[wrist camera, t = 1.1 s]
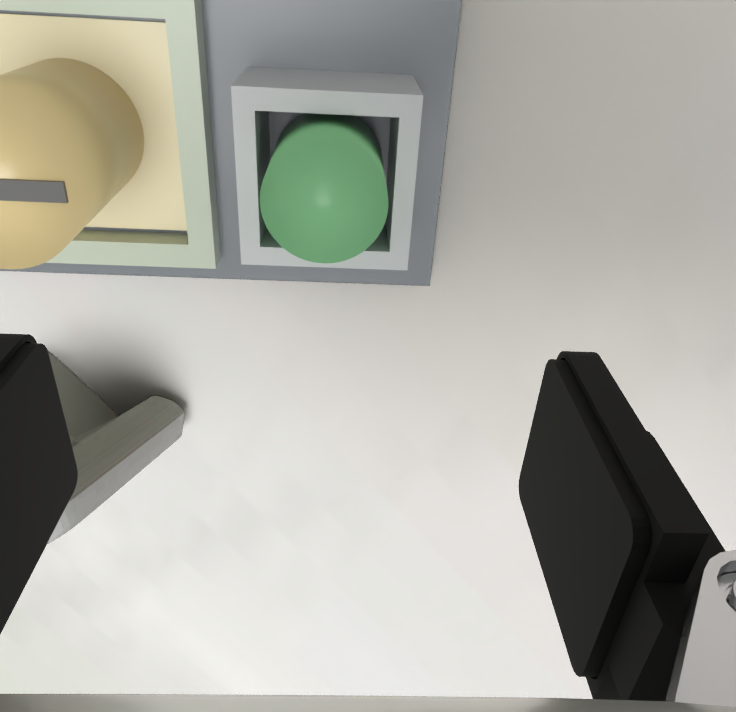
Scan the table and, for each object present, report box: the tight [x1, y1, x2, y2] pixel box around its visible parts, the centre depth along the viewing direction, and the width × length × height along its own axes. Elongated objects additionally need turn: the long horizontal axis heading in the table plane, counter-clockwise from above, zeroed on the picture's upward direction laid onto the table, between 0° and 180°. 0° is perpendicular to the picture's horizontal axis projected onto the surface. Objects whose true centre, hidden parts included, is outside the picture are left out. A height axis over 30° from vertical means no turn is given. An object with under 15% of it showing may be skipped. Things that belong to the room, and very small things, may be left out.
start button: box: [260, 113, 388, 263], centre depth 22 cm, size 4×4×4 cm
